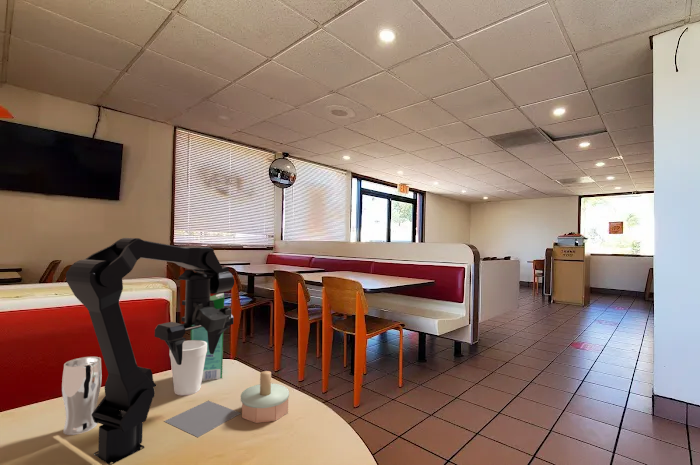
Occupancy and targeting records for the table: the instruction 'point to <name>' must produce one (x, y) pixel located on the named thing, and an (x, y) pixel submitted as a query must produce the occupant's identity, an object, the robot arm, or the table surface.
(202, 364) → the foam cup
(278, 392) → the lid
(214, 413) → the mat
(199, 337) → the milk carton
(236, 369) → the table surface
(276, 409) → the bowl
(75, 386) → the beer glass
